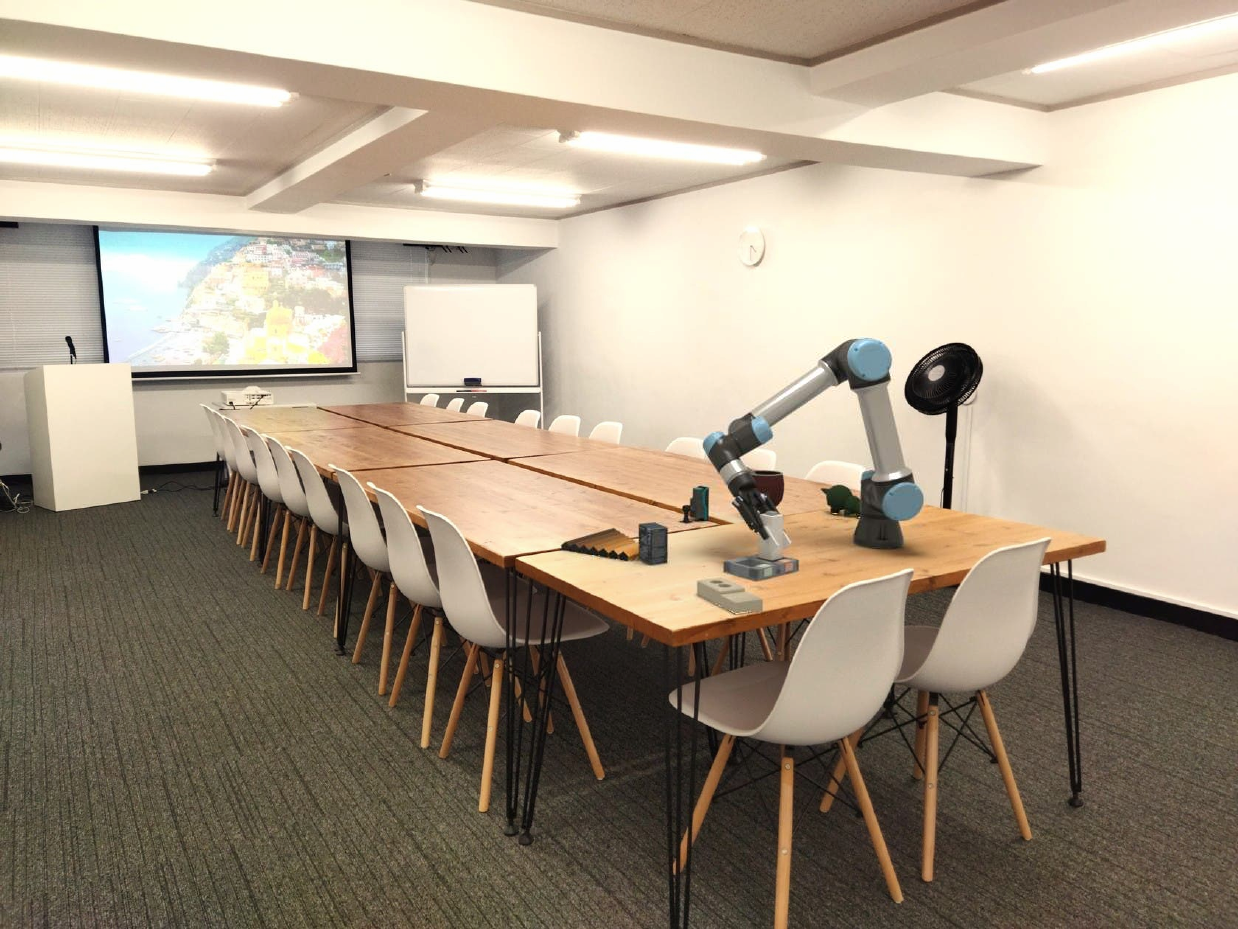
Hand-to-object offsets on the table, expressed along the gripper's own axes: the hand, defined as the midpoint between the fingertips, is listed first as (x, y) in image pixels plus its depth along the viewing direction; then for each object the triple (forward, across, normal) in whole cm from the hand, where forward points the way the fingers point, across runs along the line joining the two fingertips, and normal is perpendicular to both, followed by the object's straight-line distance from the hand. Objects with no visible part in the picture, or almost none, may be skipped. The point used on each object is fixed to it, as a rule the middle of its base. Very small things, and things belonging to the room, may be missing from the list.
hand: (781, 546), depth 232 cm
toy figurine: (-20, -82, -30) cm, 89 cm away
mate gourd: (-31, -50, -42) cm, 73 cm away
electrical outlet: (+13, +32, +2) cm, 35 cm away
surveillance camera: (-41, -30, -52) cm, 73 cm away
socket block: (+2, +4, -7) cm, 9 cm away
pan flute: (-30, +16, -41) cm, 53 cm away
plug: (0, 0, -5) cm, 5 cm away
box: (-16, +20, -27) cm, 37 cm away
